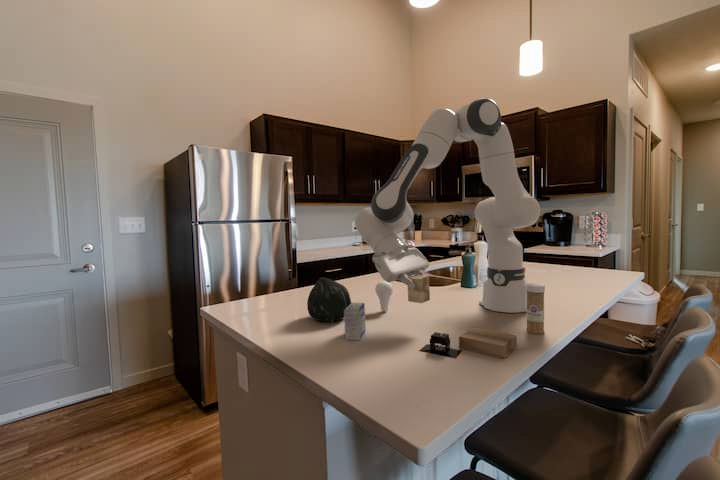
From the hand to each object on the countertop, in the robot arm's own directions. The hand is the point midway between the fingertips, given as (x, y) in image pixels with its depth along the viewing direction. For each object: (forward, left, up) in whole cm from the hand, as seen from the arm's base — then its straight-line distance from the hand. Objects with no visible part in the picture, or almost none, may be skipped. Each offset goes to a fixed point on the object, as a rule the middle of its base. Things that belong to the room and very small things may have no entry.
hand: (420, 285), depth 100 cm
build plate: (+10, +12, -14) cm, 21 cm away
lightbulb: (-10, -21, -13) cm, 27 cm away
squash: (+7, -31, -14) cm, 34 cm away
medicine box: (+14, -13, -14) cm, 24 cm away
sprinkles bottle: (-18, +26, -13) cm, 34 cm away
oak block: (0, -1, -4) cm, 4 cm away
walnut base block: (+1, +20, -13) cm, 24 cm away
